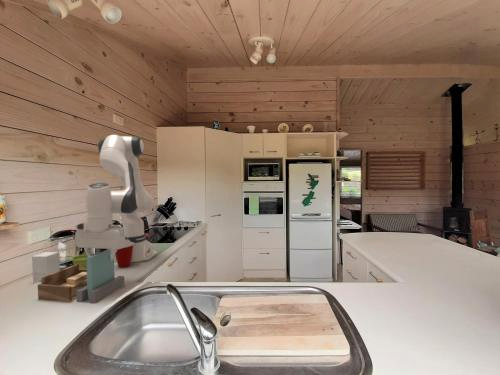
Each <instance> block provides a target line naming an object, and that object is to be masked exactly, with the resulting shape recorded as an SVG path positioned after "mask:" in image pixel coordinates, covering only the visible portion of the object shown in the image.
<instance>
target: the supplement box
mask: <svg viewBox="0 0 500 375" xmlns="http://www.w3.org/2000/svg"><path fill="white" fill-rule="evenodd" d="M31 262H32V265H31V266H32V283H33V285H34V284H36V283H39V282H41V278H42V277H44V276H47V275H49V274H52V273H55V272H57V271H60V270H61V262H60V252H59V251H57V252H56V251H44V252H42V253H38V254H35V255H32V256H31Z"/></svg>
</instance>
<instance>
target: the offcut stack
mask: <svg viewBox="0 0 500 375" xmlns="http://www.w3.org/2000/svg"><path fill="white" fill-rule="evenodd" d="M66 280H67V284H66V285H64V286H71V289H72V297H74V296H76V291H77V290H79V289H81V288H83V287H85V286H87V272H82V273H79V274H77V275H75V276H72V277H70V278H68V279H66Z"/></svg>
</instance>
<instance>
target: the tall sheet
mask: <svg viewBox="0 0 500 375" xmlns="http://www.w3.org/2000/svg"><path fill="white" fill-rule="evenodd" d="M93 254H94V255H92V256H89V257H86V261H87V292H88V300H89V292H90V291H92V290H94V289H96V288H97V287H99V286H101V285H103V284H105V283H107V282H109V281H110V280H112V279H114V278H116V277H115V259H114V260H108V256H109V255H111V251H110V249H105V250H103V251H100V252H97V253H96V254H95V253H93Z"/></svg>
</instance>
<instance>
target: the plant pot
mask: <svg viewBox="0 0 500 375" xmlns="http://www.w3.org/2000/svg"><path fill="white" fill-rule="evenodd" d="M86 257H87V254H86V253H85V254H79V255H75V256H73V257H71V259H70V260H71V261H72V264H73V265H76V264H79V269H87V261H86Z"/></svg>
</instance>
